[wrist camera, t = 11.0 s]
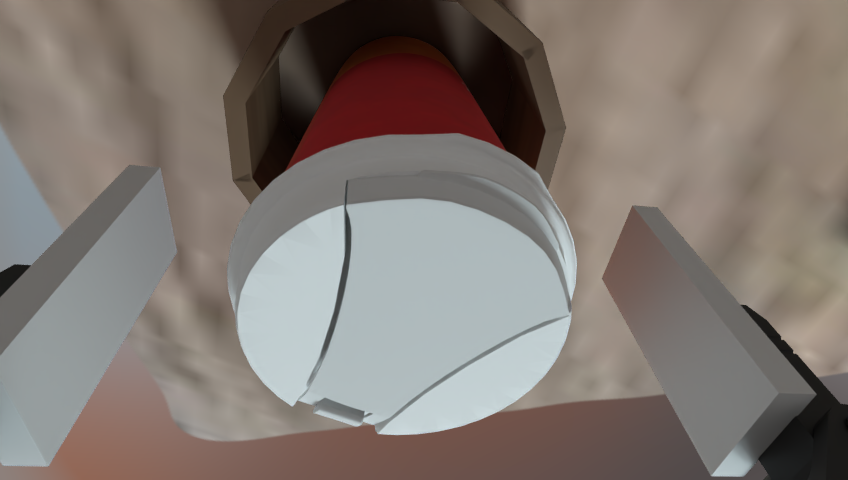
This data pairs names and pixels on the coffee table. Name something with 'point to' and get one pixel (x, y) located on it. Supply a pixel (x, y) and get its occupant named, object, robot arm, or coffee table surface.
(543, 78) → the ring
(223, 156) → the coffee table surface
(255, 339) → the coffee cup
